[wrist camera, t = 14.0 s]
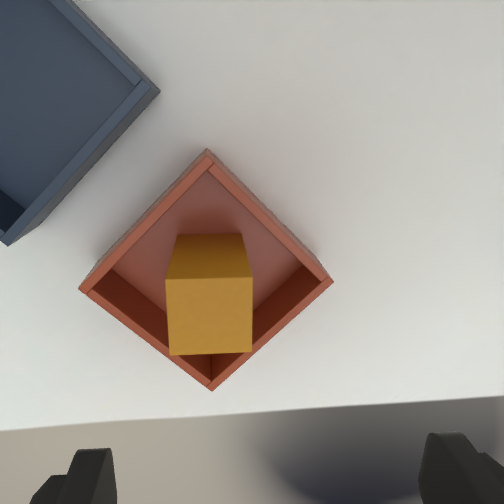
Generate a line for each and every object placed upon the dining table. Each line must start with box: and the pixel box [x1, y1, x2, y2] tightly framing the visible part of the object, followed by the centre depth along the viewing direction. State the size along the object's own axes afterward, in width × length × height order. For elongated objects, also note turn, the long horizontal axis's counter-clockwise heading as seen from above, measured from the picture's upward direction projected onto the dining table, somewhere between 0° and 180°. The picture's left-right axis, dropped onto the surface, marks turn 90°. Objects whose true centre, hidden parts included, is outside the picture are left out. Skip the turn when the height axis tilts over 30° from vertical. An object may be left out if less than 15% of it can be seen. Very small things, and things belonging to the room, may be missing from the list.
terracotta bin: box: [78, 148, 334, 391], centre depth 28 cm, size 11×11×4 cm
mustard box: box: [165, 234, 253, 356], centre depth 26 cm, size 4×4×8 cm
